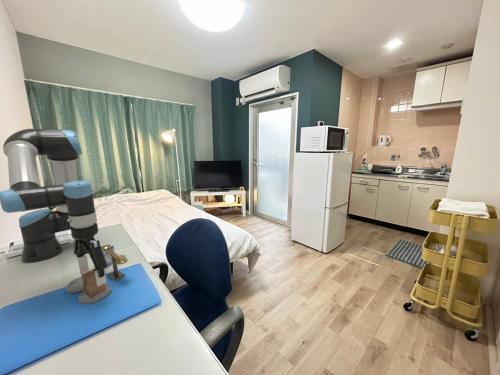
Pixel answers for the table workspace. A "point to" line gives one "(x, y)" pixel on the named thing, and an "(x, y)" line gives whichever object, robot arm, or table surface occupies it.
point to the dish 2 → (87, 300)
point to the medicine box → (108, 256)
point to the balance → (115, 263)
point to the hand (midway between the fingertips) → (92, 277)
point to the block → (91, 284)
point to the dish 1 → (75, 286)
